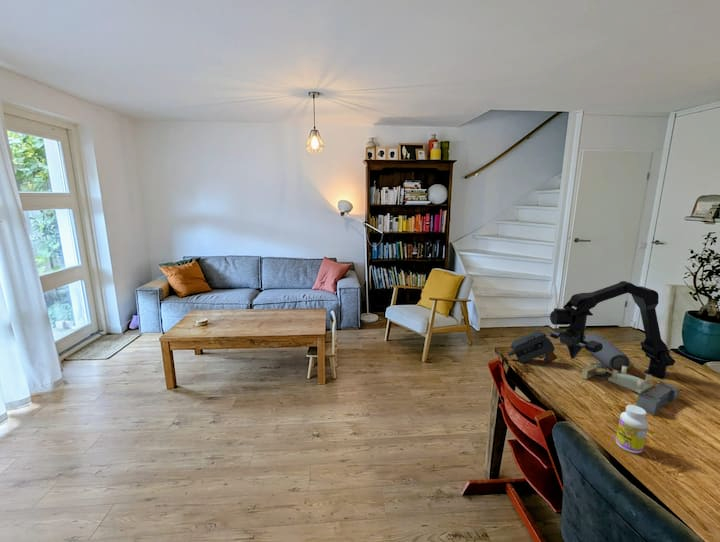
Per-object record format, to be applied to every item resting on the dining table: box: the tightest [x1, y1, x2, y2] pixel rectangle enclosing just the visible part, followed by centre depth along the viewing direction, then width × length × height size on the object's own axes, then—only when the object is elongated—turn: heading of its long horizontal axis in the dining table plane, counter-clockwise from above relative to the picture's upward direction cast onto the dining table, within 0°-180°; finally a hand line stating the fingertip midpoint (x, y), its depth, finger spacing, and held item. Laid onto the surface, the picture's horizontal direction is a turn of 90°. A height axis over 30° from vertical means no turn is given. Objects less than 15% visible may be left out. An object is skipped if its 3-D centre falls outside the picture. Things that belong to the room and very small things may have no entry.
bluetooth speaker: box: [584, 332, 631, 373], centre depth 153 cm, size 23×9×10 cm, turn 172°
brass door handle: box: [581, 362, 608, 380], centre depth 142 cm, size 14×6×4 cm, turn 119°
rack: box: [607, 365, 654, 394], centre depth 136 cm, size 11×11×4 cm
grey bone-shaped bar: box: [635, 381, 680, 416], centre depth 123 cm, size 19×5×5 cm, turn 119°
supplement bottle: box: [615, 404, 649, 454], centre depth 101 cm, size 7×7×13 cm
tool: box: [507, 330, 558, 364], centre depth 154 cm, size 6×19×15 cm, turn 78°
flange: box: [580, 369, 613, 381], centre depth 145 cm, size 9×9×1 cm
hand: (572, 358), depth 144 cm, fingers closed
